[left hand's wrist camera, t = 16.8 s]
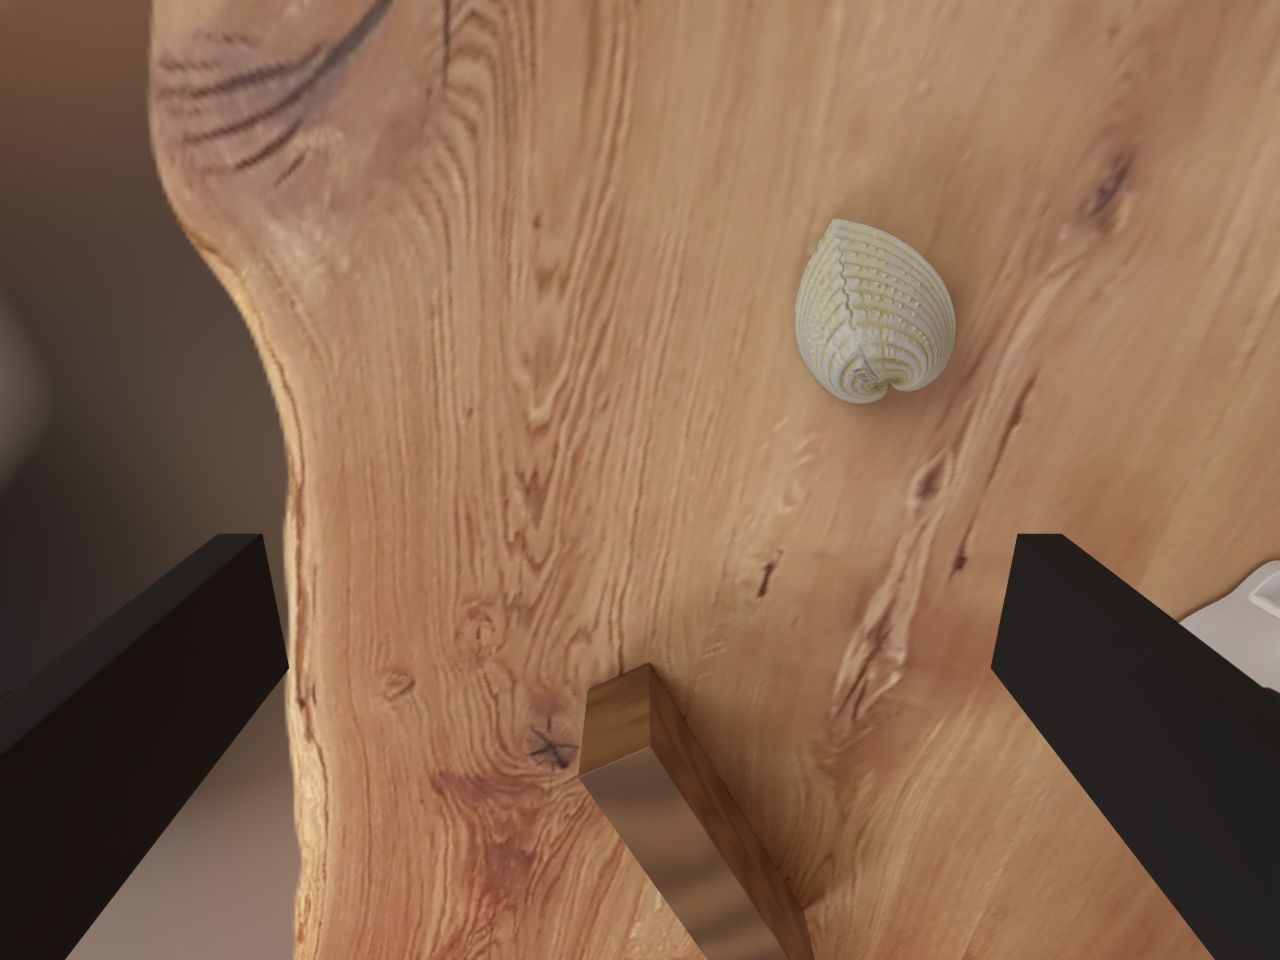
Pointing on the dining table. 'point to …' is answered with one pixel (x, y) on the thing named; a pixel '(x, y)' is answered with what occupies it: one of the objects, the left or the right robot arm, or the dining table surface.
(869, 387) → the seashell
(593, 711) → the bar
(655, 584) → the dining table surface
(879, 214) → the dining table surface
